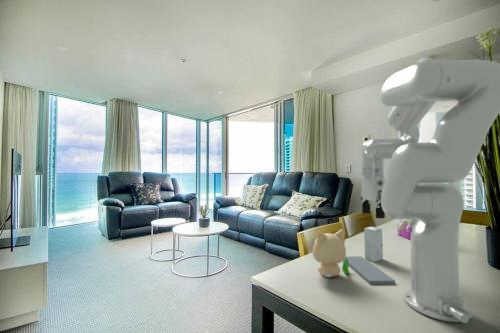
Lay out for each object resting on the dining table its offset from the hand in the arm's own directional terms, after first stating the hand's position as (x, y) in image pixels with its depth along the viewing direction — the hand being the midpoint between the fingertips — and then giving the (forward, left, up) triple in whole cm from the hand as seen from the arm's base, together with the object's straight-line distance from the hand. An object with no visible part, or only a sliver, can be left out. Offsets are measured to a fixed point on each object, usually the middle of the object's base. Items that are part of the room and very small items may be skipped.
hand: (372, 215), depth 91 cm
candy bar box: (+28, -35, -17) cm, 48 cm away
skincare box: (0, 0, -17) cm, 17 cm away
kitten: (-13, +22, -17) cm, 31 cm away
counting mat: (-10, +9, -17) cm, 22 cm away
